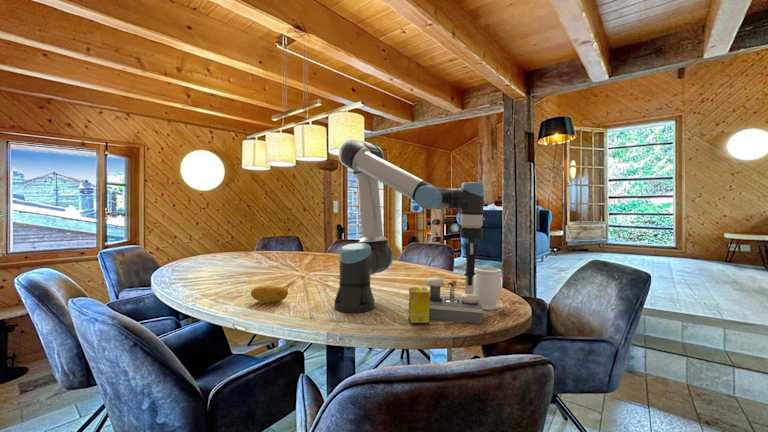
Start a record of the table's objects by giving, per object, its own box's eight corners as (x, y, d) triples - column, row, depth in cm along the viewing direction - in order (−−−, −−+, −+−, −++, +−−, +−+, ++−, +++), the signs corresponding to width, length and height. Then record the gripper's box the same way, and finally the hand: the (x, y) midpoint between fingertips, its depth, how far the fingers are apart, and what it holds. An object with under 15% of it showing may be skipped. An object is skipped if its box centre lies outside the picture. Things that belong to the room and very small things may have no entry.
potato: (283, 306, 123) (283, 288, 123) (247, 305, 124) (247, 287, 124) (290, 300, 131) (290, 283, 131) (256, 299, 132) (257, 282, 132)
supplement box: (408, 318, 113) (408, 287, 112) (425, 318, 113) (426, 287, 113) (411, 325, 107) (411, 291, 106) (429, 325, 107) (430, 291, 107)
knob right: (461, 316, 114) (461, 296, 114) (460, 311, 120) (461, 292, 119) (477, 318, 113) (478, 298, 113) (476, 313, 119) (477, 293, 118)
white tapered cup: (502, 312, 121) (503, 272, 121) (473, 310, 124) (474, 270, 123) (498, 304, 132) (499, 266, 131) (471, 302, 134) (472, 265, 133)
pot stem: (445, 316, 116) (446, 282, 116) (445, 312, 120) (446, 279, 120) (457, 317, 115) (458, 282, 115) (457, 313, 119) (458, 280, 119)
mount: (421, 318, 114) (422, 303, 113) (424, 307, 126) (425, 294, 125) (482, 323, 109) (482, 308, 109) (479, 312, 121) (479, 298, 121)
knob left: (426, 299, 116) (427, 280, 116) (427, 295, 122) (428, 276, 122) (442, 301, 115) (443, 281, 115) (443, 296, 121) (443, 277, 121)
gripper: (484, 228, 108) (481, 299, 109) (481, 226, 121) (478, 289, 122) (460, 227, 110) (458, 297, 111) (460, 225, 122) (457, 288, 123)
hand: (469, 293), depth 116 cm, fingers closed
